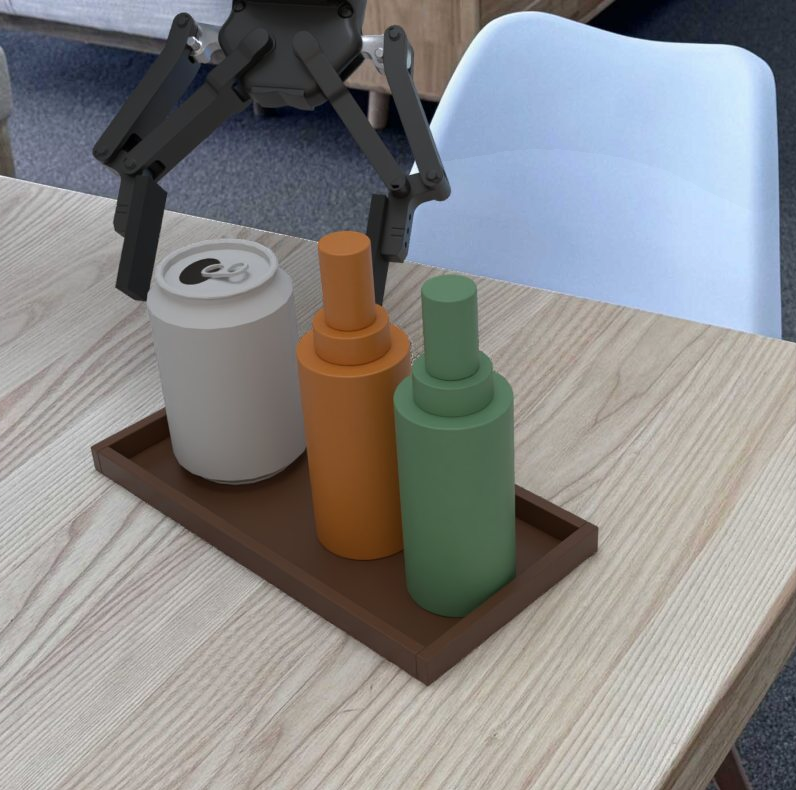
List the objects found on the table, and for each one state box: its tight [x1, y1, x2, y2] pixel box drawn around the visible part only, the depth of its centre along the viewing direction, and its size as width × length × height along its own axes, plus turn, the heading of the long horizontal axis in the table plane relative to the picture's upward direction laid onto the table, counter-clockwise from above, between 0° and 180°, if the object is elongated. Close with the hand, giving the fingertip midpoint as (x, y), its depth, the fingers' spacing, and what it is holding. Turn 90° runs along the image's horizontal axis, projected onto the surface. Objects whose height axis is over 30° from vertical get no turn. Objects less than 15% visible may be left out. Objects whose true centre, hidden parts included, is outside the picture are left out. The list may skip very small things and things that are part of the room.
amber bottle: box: [296, 230, 412, 560], centre depth 68 cm, size 5×5×16 cm
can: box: [146, 237, 306, 485], centre depth 75 cm, size 8×8×12 cm
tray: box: [89, 406, 599, 687], centre depth 74 cm, size 25×12×2 cm, turn 49°
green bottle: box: [393, 274, 516, 618], centre depth 64 cm, size 5×5×16 cm
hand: (247, 306), depth 77 cm, fingers open, 13 cm apart
